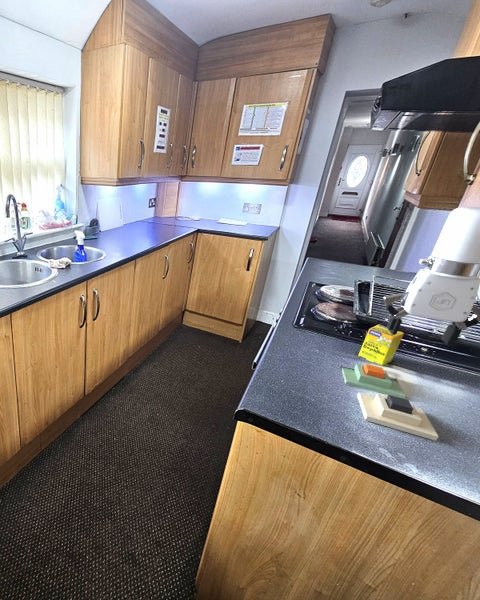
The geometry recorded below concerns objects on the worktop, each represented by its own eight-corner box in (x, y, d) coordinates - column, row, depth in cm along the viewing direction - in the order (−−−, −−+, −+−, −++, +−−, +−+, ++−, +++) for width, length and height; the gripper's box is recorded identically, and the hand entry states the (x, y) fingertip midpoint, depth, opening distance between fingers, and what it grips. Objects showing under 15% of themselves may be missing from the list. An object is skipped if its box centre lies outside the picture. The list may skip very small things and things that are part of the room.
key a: (405, 405, 76) (408, 399, 75) (410, 415, 73) (413, 409, 72) (385, 400, 77) (388, 394, 77) (389, 409, 75) (392, 403, 74)
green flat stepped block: (393, 379, 90) (397, 370, 88) (404, 400, 82) (409, 390, 80) (339, 366, 95) (342, 358, 94) (344, 384, 87) (348, 375, 86)
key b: (379, 373, 88) (382, 367, 87) (383, 379, 85) (385, 374, 84) (363, 369, 90) (365, 363, 89) (365, 375, 87) (368, 370, 86)
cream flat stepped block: (420, 412, 77) (425, 402, 76) (436, 441, 69) (442, 430, 68) (357, 395, 83) (361, 386, 82) (365, 420, 75) (369, 409, 74)
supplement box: (356, 360, 99) (368, 328, 94) (366, 354, 101) (379, 323, 97) (379, 370, 94) (394, 337, 89) (390, 364, 96) (404, 332, 92)
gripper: (405, 265, 70) (375, 335, 77) (521, 279, 63) (478, 354, 70) (393, 257, 77) (367, 322, 83) (498, 269, 69) (460, 339, 76)
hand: (418, 337), depth 76 cm, fingers open, 9 cm apart
